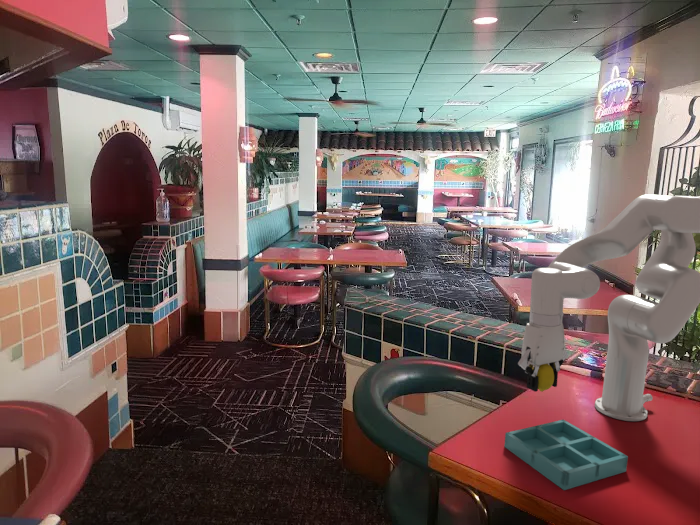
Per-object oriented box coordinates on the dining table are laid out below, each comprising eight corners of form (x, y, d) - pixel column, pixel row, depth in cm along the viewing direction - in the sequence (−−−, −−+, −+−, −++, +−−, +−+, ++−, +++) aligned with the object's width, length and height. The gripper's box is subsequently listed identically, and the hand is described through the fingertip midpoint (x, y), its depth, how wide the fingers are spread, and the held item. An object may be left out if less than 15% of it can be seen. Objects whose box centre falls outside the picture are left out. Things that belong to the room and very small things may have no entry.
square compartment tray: (562, 432, 128) (563, 419, 127) (626, 471, 112) (628, 456, 111) (504, 446, 121) (505, 432, 120) (564, 490, 105) (565, 474, 104)
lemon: (555, 397, 129) (556, 366, 128) (531, 395, 130) (533, 365, 129) (551, 387, 135) (553, 358, 133) (528, 386, 136) (530, 356, 134)
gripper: (560, 310, 136) (556, 375, 139) (507, 319, 129) (504, 387, 132) (583, 317, 129) (578, 386, 132) (529, 327, 122) (525, 399, 125)
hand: (541, 386), depth 132 cm, fingers closed on lemon, 5 cm apart
